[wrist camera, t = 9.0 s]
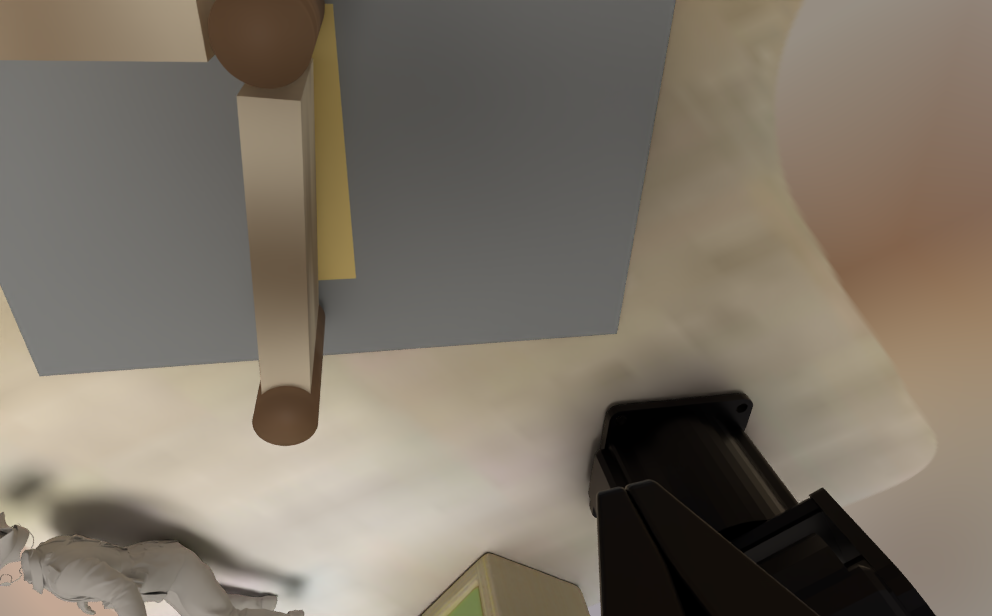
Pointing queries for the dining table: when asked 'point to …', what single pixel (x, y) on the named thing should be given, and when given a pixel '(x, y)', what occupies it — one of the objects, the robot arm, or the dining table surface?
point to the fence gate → (283, 255)
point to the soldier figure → (126, 576)
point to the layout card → (339, 185)
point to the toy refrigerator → (508, 592)
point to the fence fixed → (168, 33)
